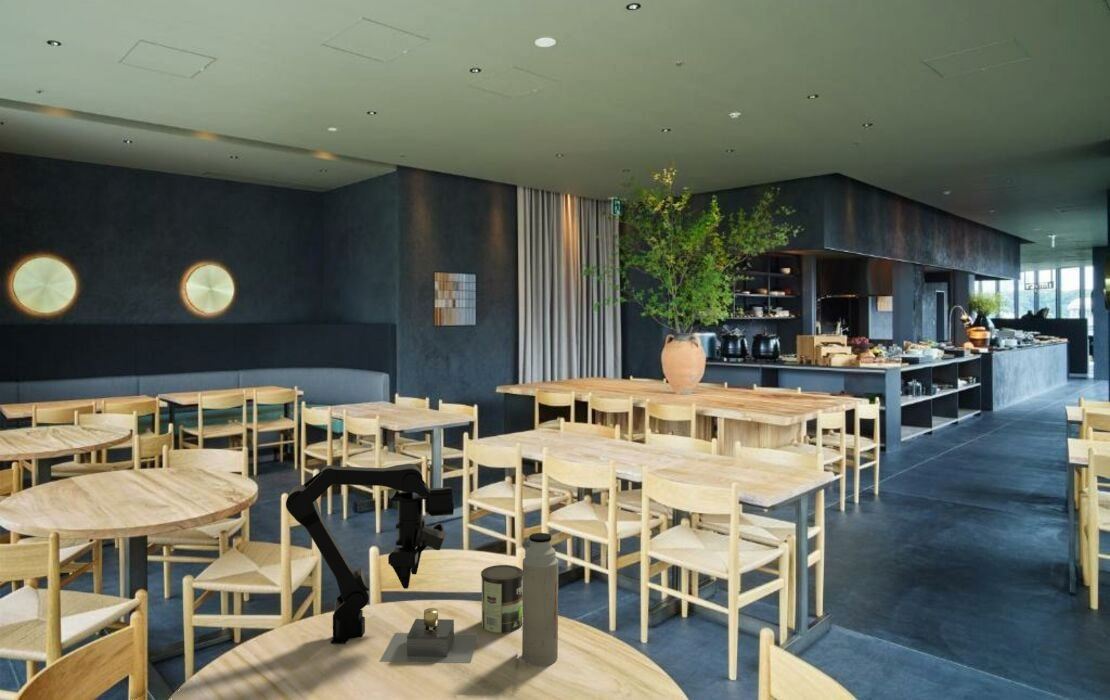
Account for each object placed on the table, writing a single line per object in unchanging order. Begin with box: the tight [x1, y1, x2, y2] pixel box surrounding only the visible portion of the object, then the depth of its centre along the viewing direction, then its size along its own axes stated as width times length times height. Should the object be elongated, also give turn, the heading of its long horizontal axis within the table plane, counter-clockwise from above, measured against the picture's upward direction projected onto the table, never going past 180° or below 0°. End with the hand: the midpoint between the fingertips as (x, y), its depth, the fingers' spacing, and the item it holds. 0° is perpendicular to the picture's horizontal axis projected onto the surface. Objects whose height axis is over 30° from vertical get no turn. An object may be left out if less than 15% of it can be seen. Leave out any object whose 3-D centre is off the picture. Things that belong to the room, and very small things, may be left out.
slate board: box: [379, 632, 479, 664], centre depth 164 cm, size 20×14×1 cm
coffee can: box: [480, 564, 523, 634], centre depth 176 cm, size 10×10×14 cm
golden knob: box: [423, 607, 439, 630], centre depth 164 cm, size 4×4×8 cm
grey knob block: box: [407, 618, 455, 657], centre depth 164 cm, size 9×9×5 cm
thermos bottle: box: [521, 532, 559, 667], centre depth 161 cm, size 8×8×28 cm
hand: (410, 581), depth 173 cm, fingers open, 9 cm apart
